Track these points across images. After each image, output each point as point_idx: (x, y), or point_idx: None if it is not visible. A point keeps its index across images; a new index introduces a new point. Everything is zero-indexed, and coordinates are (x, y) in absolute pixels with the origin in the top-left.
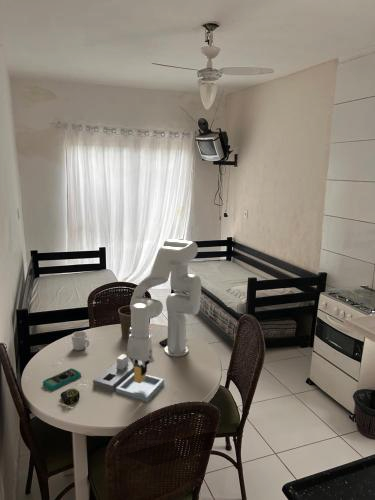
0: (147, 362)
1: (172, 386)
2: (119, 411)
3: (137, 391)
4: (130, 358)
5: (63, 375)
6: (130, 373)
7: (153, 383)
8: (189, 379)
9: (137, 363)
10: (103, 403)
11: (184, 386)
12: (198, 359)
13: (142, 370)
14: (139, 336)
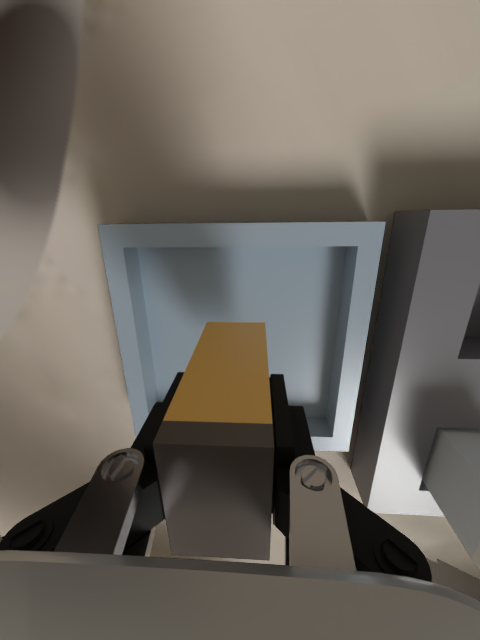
0: (17, 543)
1: (100, 419)
2: (224, 18)
3: (234, 295)
4: (410, 558)
5: None
6: (370, 428)
7: None
8: (70, 491)
9: (243, 484)
10: (403, 48)
11: (51, 440)
12: None
13: (160, 406)
14: None
